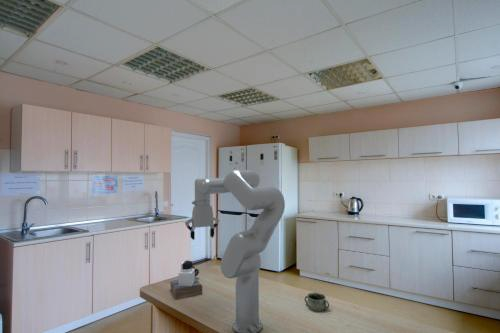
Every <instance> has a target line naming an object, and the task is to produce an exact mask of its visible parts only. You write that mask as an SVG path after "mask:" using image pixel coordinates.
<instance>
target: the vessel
mask: <svg viewBox="0 0 500 333" xmlns="http://www.w3.org/2000/svg"><path fill="white" fill-rule="evenodd" d="M304 302H305V305H306V306H308V308H309V310H310V311H311V312H319V313H320V312H323V311H325V312H326V311H329V308H330V302H329V301H328V299H327V296H326V295H325V294H324V293H321V292H309V293H307V295H305V296H304Z"/></svg>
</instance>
